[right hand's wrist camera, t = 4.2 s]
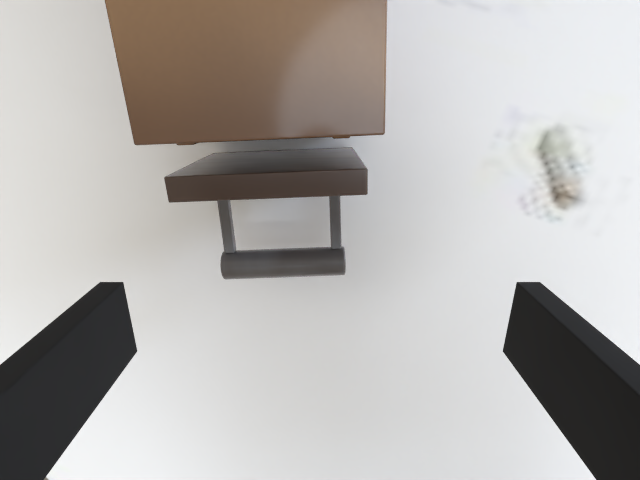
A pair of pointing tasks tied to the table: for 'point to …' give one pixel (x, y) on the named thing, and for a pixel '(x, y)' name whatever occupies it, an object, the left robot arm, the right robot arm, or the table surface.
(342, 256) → the drawer
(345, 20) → the cabinet
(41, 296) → the table surface
